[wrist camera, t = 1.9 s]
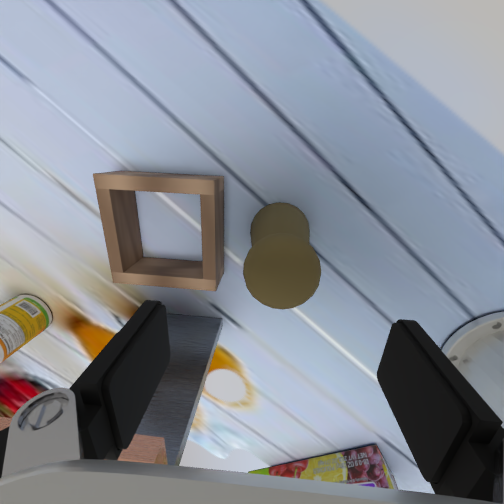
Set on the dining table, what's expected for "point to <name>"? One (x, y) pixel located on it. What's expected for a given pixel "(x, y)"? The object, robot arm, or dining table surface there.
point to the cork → (281, 258)
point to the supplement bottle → (21, 322)
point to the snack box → (340, 468)
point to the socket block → (128, 232)
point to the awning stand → (173, 392)
